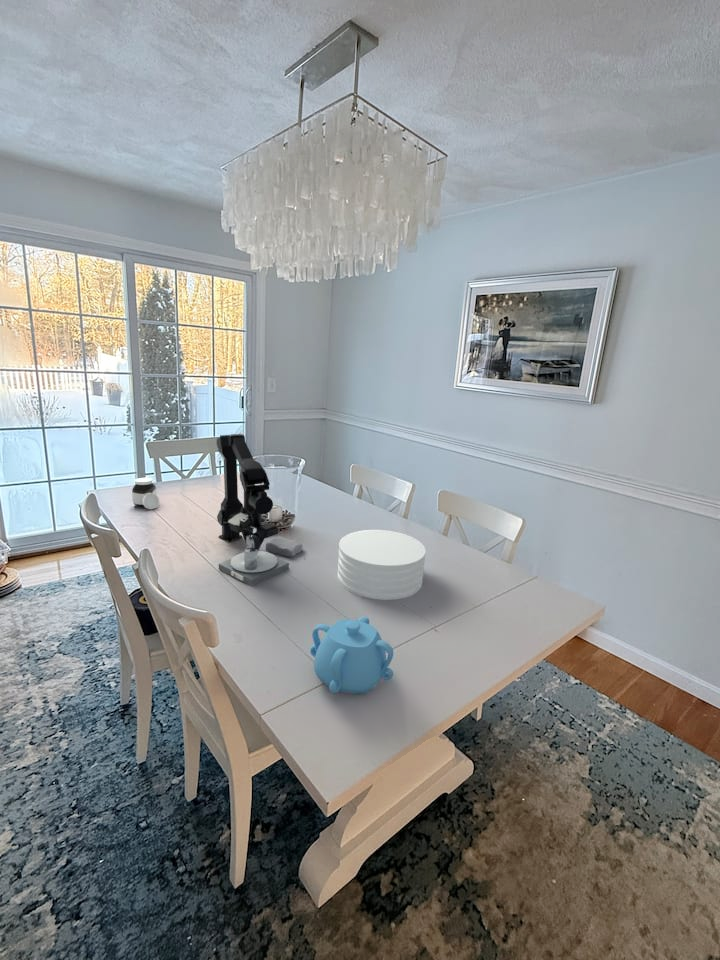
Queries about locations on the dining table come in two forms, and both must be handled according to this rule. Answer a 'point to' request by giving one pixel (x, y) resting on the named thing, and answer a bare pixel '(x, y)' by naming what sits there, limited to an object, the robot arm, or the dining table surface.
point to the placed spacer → (250, 558)
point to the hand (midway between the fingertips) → (252, 548)
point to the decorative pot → (351, 656)
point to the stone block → (283, 546)
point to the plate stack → (381, 564)
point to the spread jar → (145, 493)
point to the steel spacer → (250, 541)
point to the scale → (265, 569)
